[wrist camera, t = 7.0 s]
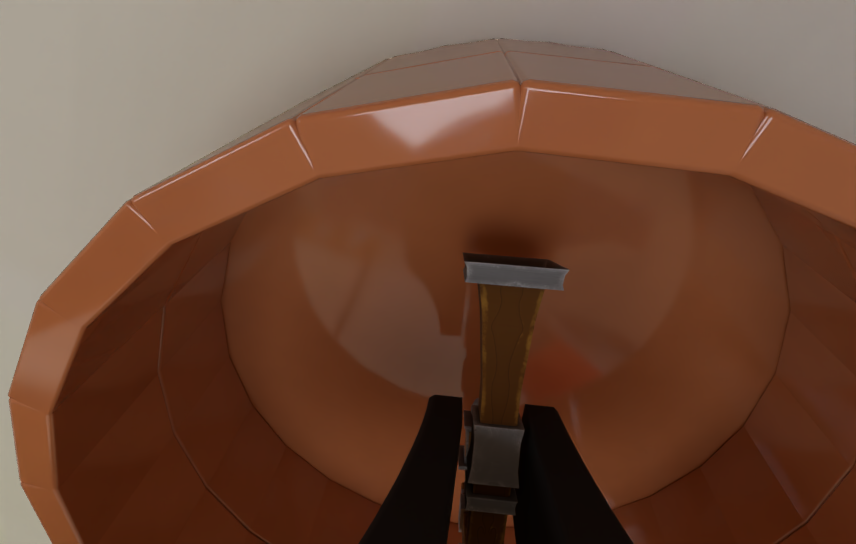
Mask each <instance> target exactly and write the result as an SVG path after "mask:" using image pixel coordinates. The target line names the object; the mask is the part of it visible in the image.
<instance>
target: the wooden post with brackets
mask: <svg viewBox="0 0 856 544" xmlns="http://www.w3.org/2000/svg"><path fill="white" fill-rule="evenodd" d="M463 257H464V262H465V267H464V269H463V273H464V279H465V282H468V283H477V285H478V296H479V307H480V389H479V398H477V399H476V400H475V401H474V402H473V404H472V406H471V411H467V410H464V429H466V430H465V445H464V446H463V445H460V447H459V455H458V469H459V470H465V481H464V482H462V484H461V494H460V504H459V515H458V521H459V532H462V543H458V544H504V537H505V530H506V523H507V515H515V516H516V514H515V507H516V504H517V503H518V500H517V496H516V491H515V488H519V481H518V465H519V455H520V445H521V441H522V437H523V434H524V431H525V429H524V426H523V423H522V420H521V417H520V414H519V406H520V398H521V390H522V385H523V380H524V375H525V370H526V365H527V360H528V355H529V350H530V345H531V340H532V335H533V330H534V325H535V321H536V318H537V314H538V311H539V308H540V304H541V301H542V297H543V294H544V291H545V289H550V290H562V291H564V288H563V282H564V278H565V275H566V274H567V273H568V271H569V269H567V268H565V267H563V266H561V265H559V264H557V263H555V262H553V261H551V260H548V259H536V258H524V257H511V256H499V255H487V254H475V253H463Z"/></svg>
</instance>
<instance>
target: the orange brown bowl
mask: <svg viewBox="0 0 856 544" xmlns="http://www.w3.org/2000/svg"><path fill="white" fill-rule="evenodd" d="M463 253H475V254H487V255H499V256H511V257H524V258H536V259H548V260H551V261H553V262H555V263H557V264H559V265H561V266H563V267H565V268H567V269H569V271H568V273H567V274H566V275H565V278H564V282H563V288H564V291H562V290H550V289H545V291H544V294H543V297H542V301H541V304H540V308H539V311H538V314H537V318H536V321H535V325H534V330H533V335H532V340H531V345H530V350H529V355H528V360H527V365H526V370H525V375H524V380H523V385H522V390H521V398H520V406H519V414H520V417H521V420H522V415H523V411H524V406H525V404H530V405H540V406H550V407H554V408H555V409H556V410H557V411H558V413H559V415H560V417H561V419H562V421H563V423H564V425H565V427H566V430H567V432H568V433H569V435H570V437H571V439H572V441H573V443H574V445H575V447H576V449H577V451H578V453H579V454H580V456H581V458H582V460H583V462H584V464H585V465H586V467H587V469H588V471H589V472H590V474H591V476H592V478H593V479H594V481H595V483H596V484H597V486H598V488H599V489H600V491H601V493H602V494H603V496H604V498H605V499H606V501H607V503H608V504H609V506H610V508H611V509H612V511H613V512H614V514H615V516H616V517H617V519H618V520H619V522H620V523H621V525H622V527H623V528H624V530H625V531H626V533H627V534H628V536H629V537H630V539H631V540H632V542H633V543H634V544H856V144H854V143H851V142H849V141H847V140H845V139H842V138H840V137H838V136H835V135H833V134H831V133H829V132H826V131H824V130H822V129H819V128H817V127H815V126H813V125H810V124H808V123H806V122H804V121H801V120H799V119H797V118H794V117H792V116H790V115H788V114H785V113H783V112H781V111H778V110H776V109H774V108H771V107H768V106H765V105H762V104H759V103H757V102H754V101H751V100H748V99H745V98H742V97H740V96H737V95H734V94H731V93H728V92H725V91H723V90H720V89H717V88H714V87H711V86H708V85H706V84H703V83H700V82H697V81H694V80H691V79H689V78H686V77H683V76H680V75H677V74H674V73H672V72H669V71H666V70H663V69H660V68H658V67H655V66H652V65H649V64H646V63H643V62H641V61H638V60H635V59H632V58H629V57H626V56H624V55H621V54H618V53H615V52H612V51H607V50H604V49H595V48H586V47H577V46H569V45H563V44H558V43H553V42H540V41H522V40H513V39H504V38H501V39H498V40H496V39H488V40H482V41H477V42H471V43H463V44H454V45H444V46H441V47H437V48H433V49H429V50H425V51H421V52H416V53H410V54H405V55H399V56H394V57H392V58H391V59H385V60H383V61H381V62H380V63H378V64H376V65H374V66H372V67H370V68H368V69H366V70H364V71H362V72H360V73H358V74H356V75H354V76H351V77H349V78H348V79H346V80H344V81H342V82H340V83H338V84H336V85H334V86H332V87H330V88H328V89H326V90H324V91H323V92H321V93H319V94H317V95H315V96H313V97H311V98H309V99H307V100H305V101H303V102H301V103H299V104H298V105H296V106H294V107H292V108H290V109H289V110H287V111H285V112H283V113H281V114H280V115H278V116H276V117H274V118H272V119H271V120H269V121H267V122H265V123H264V124H262V125H260V126H258V127H256V128H255V129H253V130H251V131H249V132H248V133H246V134H244V135H242V136H240V137H238V138H237V139H235V140H233V141H231V142H229V143H228V144H226V145H224V146H222V147H220V148H219V149H217V150H215V151H213V152H211V153H210V154H208V155H206V156H204V157H203V158H201V159H199V160H197V161H195V162H194V163H192V164H190V165H188V166H186V167H185V168H183V169H181V170H179V171H177V172H176V173H174V174H172V175H170V176H168V177H167V178H165V179H163V180H161V181H159V182H158V183H156V184H154V185H152V186H150V187H149V188H147V189H145V190H143V191H142V192H140V193H138V194H136V195H134V197H133V198H131V199H130V200H128V201H126V202H125V203H124V204H123V205H122V207H121V208H120V209H119V210H118V211H117V212H116V213H115V214H114V215H113V216H112V218H111V219H110V220H109V221H108V222H107V223H106V224H105V225H104V226H103V227H102V228H101V230H100V231H99V232H98V233H97V234H96V235H95V236H94V237H93V238H92V239H91V241H90V242H89V243H88V244H87V245H86V246H85V247H84V248H83V249H82V250H81V252H80V253H79V254H78V255H77V256H76V257H75V258H74V259H73V260H72V261H71V263H70V264H69V265H68V266H67V267H66V268H65V269H64V270H63V271H62V272H61V274H60V275H59V276H58V277H57V278H56V279H55V280H54V281H53V282H52V283H51V285H50V286H49V287H48V288H47V289H46V290H45V291H44V292H43V293H42V294H41V296H40V299H39V300H38V301H37V303H36V306H35V309H34V312H33V315H32V319H31V322H30V325H29V328H28V332H27V335H26V338H25V341H24V344H23V348H22V351H21V354H20V357H19V361H18V364H17V367H16V370H15V374H14V377H13V380H12V383H11V387H10V390H9V393H8V396H9V397H10V399H9V406H10V414H11V421H12V428H13V435H14V443H15V450H16V457H17V464H18V472H19V479H20V481H21V486H22V488H23V490H24V492H25V494H26V496H27V498H28V499H29V501H30V503H31V505H32V507H33V509H34V511H35V512H36V514H37V516H38V518H39V520H40V522H41V524H42V526H43V527H44V529H45V531H46V533H47V535H48V537H49V539H50V540H51V542H52V544H358V543H359V542H360V540H361V539H362V537H363V536H364V534H365V532H366V531H367V529H368V527H369V526H370V524H371V523H372V521H373V519H374V518H375V516H376V514H377V512H378V511H379V509H380V507H381V505H382V504H383V502H384V500H385V498H386V497H387V495H388V493H389V491H390V490H391V488H392V486H393V484H394V482H395V480H396V479H397V477H398V475H399V473H400V471H401V469H402V466H403V464H404V462H405V460H406V458H407V456H408V454H409V452H410V450H411V448H412V446H413V443H414V441H415V439H416V436H417V434H418V432H419V429H420V426H421V424H422V421H423V418H424V415H425V412H426V409H427V404H428V400H429V397H431V396H433V395H434V394H435V395H444V396H454V397H462V431H461V439H460V445H463V446H464V445H465V430H466V429H464V410H467V411H471V406H472V404H473V402H474V401H475V400H476V399H477V398H479V389H480V307H479V296H478V285H477V283H468V282H465V279H464V273H463V269H464V267H465V262H464V257H463ZM464 481H465V470H459V469H458V463H457V471H456V479H455V487H454V495H453V503H452V511H451V518H450V525H449V531H448V538H447V544H458V543H462V532H459V521H458V515H459V504H460V494H461V484H462V482H464ZM504 544H516V539H515V531H514V523H513V515H507V523H506V530H505V537H504Z"/></svg>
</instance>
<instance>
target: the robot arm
mask: <svg viewBox="0 0 856 544" xmlns="http://www.w3.org/2000/svg"><path fill="white" fill-rule="evenodd" d="M522 423H523V426H524V429H525V431H524V434H523V437H522V441H521V445H520V455H519V465H518V481H519V488H515V491H516V496H517V500H518V503H517V504H516V507H515V514H516V516H515V515H513V523H514V531H515V539H516V544H634V543H633V542H632V540H631V539H630V537H629V536H628V534H627V533H626V531H625V530H624V528H623V527H622V525H621V523H620V522H619V520H618V519H617V517H616V516H615V514H614V512H613V511H612V509H611V508H610V506H609V504H608V503H607V501H606V499H605V498H604V496H603V494H602V493H601V491H600V489H599V488H598V486H597V484H596V483H595V481H594V479H593V478H592V476H591V474H590V472H589V471H588V469H587V467H586V465H585V464H584V462H583V460H582V458H581V456H580V454H579V453H578V451H577V449H576V447H575V445H574V443H573V441H572V439H571V437H570V435H569V433H568V432H567V430H566V427H565V425H564V423H563V421H562V419H561V417H560V415H559V413H558V411H557V410H556V409H555V408H554V407H550V406H540V405H530V404H525V406H524V411H523V415H522ZM461 431H462V397H454V396H444V395H435V394H434V395H433V396H431V397H429V400H428V404H427V409H426V412H425V415H424V418H423V421H422V424H421V426H420V429H419V432H418V434H417V436H416V439H415V441H414V443H413V446H412V448H411V450H410V452H409V454H408V456H407V458H406V460H405V462H404V464H403V466H402V469H401V471H400V473H399V475H398V477H397V479H396V480H395V482H394V484H393V486H392V488H391V490H390V491H389V493H388V495H387V497H386V498H385V500H384V502H383V504H382V505H381V507H380V509H379V511H378V512H377V514H376V516H375V518H374V519H373V521H372V523H371V524H370V526H369V527H368V529H367V531H366V532H365V534H364V536H363V537H362V539H361V540H360V542H359V543H358V544H447V538H448V531H449V525H450V518H451V511H452V503H453V495H454V487H455V479H456V471H457V463H458V455H459V447H460V439H461Z"/></svg>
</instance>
